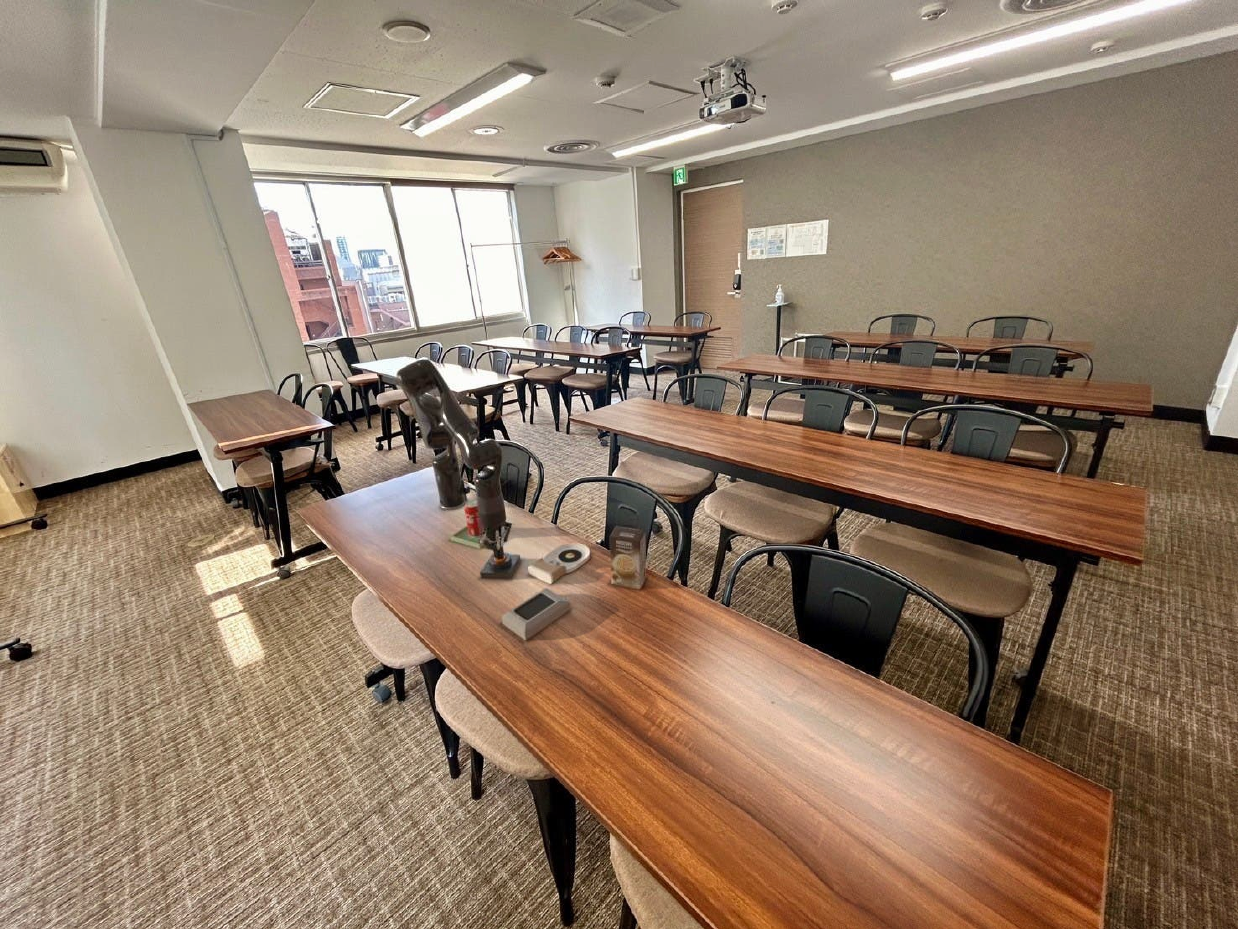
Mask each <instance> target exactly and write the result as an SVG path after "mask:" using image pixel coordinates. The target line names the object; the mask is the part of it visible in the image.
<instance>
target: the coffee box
mask: <svg viewBox="0 0 1238 929" xmlns="http://www.w3.org/2000/svg"><path fill="white" fill-rule="evenodd" d="M646 532H647V531H646V529H641V528H635V527H628V526H623V525H615V526H614V528H613V529H612V531H611V533H610V534H609V556H610V559H609V560H610V580H611V582H610V583H611V585H616V586H621V587H627V588H631V589H637V590H641V589H642V587H643V585H644V583H645V580H646V579H647V550H646V549H647V548H646V546H647V545H646V544H647V540H646V539H647V533H646Z"/></svg>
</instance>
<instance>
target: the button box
mask: <svg viewBox="0 0 1238 929" xmlns="http://www.w3.org/2000/svg"><path fill="white" fill-rule="evenodd" d="M504 555H505V556H506V560H504V561H503V562H494V553H492V554H491V555H490V557H489V558H488V560H487V562H486V563H485V564H484V566H483V567H482V569H481V570H480V572H479V574H480V579H484V580H504V581H505V580H506V581H510V580H511V579H512V577H513V575H514V573H515V572H516V570H517V568H518V566H519V565H520V562H521V554H510V553H508V552H504Z"/></svg>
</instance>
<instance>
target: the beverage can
mask: <svg viewBox="0 0 1238 929" xmlns="http://www.w3.org/2000/svg"><path fill="white" fill-rule="evenodd" d="M464 516H465V521H466V526H468V531H469V535H471V536H472V537H476V538H477V537H482V536H483V526H482V525H481V523H480V518H479V512H478V507H477V499H472V500H469V501H466V503H465V505H464Z"/></svg>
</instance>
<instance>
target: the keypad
mask: <svg viewBox="0 0 1238 929" xmlns="http://www.w3.org/2000/svg"><path fill="white" fill-rule="evenodd" d="M569 611H571V602H570V601H569V600H567V599H566V598H564V597H563V596H560V595H559V594H558V593H555V592H554V591H552V590H550V589H549V588H547V587H545V588H543V589H542V590H540V591H538V592H537V593H535V594H534V595H532V596H530V597H529V598H528V599H526V600H524V601H523V602H521V603H519V604H518V605H516V606H515V607H513V608H512V609H510V610H509V611H507V612H505V613H504V614H503V615H502V616H501V622H502V625H503V626H505V627H506V628H508V629H509V630H510V631H512V632H513V633H515V634H516V635H517V636H518V637H520V638H521V639H522V640H524V641H527V640H530V639H531V638H532V637H533V636H535V635H536V634H538V633H539V632H540V631H542V630H543V629H545V628H547V627H548V626H549V625H551V624H552V623H553V622H554V621H556V620H558V619H559V618H561V617H563V615H565V614H566V613H567V612H569Z"/></svg>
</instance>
